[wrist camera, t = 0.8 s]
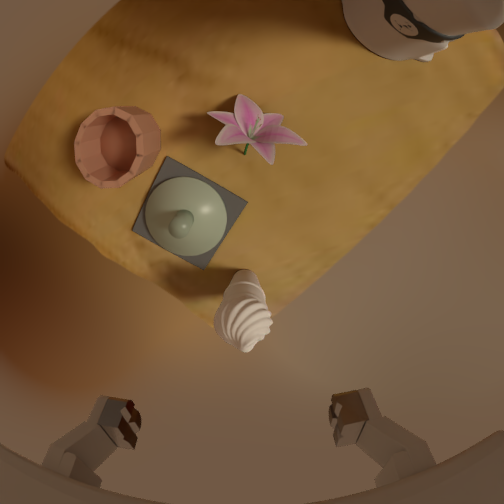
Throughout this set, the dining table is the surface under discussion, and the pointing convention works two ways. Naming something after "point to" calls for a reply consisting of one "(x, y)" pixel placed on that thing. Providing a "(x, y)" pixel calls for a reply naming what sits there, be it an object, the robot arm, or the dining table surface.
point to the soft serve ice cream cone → (243, 312)
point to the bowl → (116, 145)
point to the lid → (186, 216)
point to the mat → (230, 200)
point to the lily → (254, 128)
